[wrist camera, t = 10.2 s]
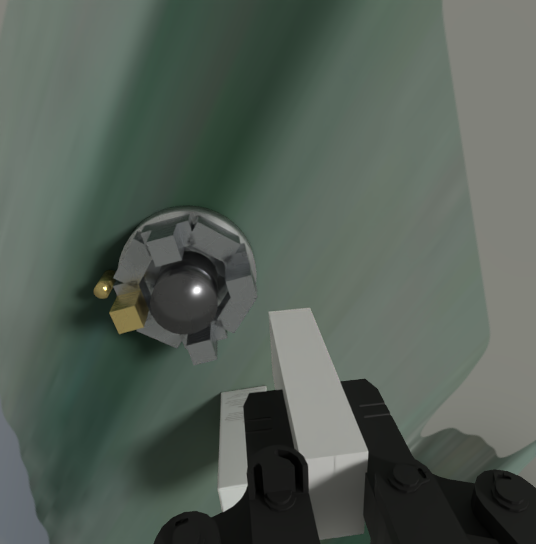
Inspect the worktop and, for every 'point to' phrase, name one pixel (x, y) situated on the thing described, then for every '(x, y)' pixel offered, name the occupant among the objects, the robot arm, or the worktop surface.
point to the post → (105, 284)
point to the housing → (188, 277)
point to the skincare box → (233, 447)
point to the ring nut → (169, 248)
